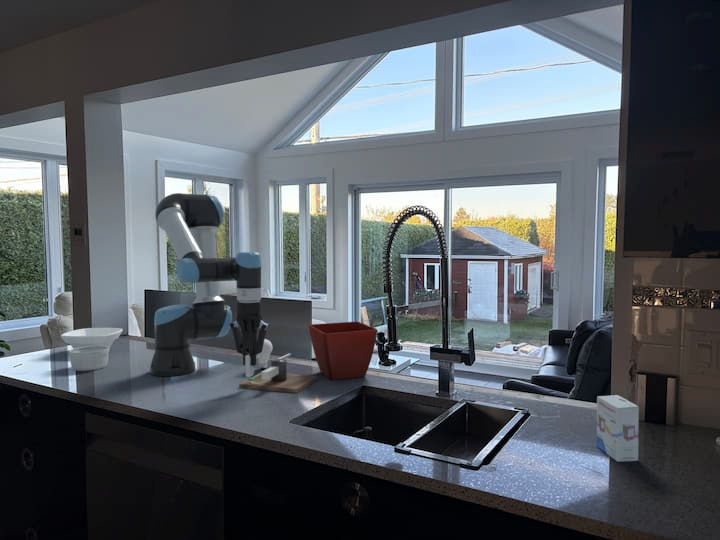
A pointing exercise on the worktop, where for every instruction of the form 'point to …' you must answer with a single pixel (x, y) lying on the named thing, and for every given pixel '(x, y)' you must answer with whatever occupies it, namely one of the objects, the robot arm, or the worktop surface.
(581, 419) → the worktop surface
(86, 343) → the bowl
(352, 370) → the plant pot
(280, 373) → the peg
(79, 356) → the ramekin
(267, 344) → the light bulb
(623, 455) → the ink box
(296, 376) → the board
